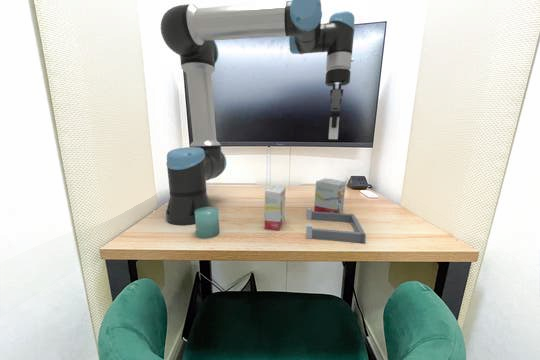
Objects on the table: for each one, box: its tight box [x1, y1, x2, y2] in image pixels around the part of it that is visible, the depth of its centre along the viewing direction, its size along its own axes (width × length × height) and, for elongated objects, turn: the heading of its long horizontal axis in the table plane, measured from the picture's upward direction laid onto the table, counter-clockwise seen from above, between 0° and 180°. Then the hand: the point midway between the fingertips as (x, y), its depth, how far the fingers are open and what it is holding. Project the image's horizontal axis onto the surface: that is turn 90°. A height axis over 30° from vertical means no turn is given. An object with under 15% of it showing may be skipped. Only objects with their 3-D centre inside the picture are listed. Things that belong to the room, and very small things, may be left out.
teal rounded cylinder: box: [194, 206, 220, 240], centre depth 60 cm, size 6×6×7 cm
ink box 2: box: [313, 177, 346, 213], centre depth 78 cm, size 9×9×12 cm
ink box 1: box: [264, 184, 286, 231], centre depth 66 cm, size 9×5×12 cm, turn 165°
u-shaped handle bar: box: [305, 207, 367, 244], centre depth 64 cm, size 15×15×4 cm
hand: (333, 139), depth 72 cm, fingers open, 13 cm apart
